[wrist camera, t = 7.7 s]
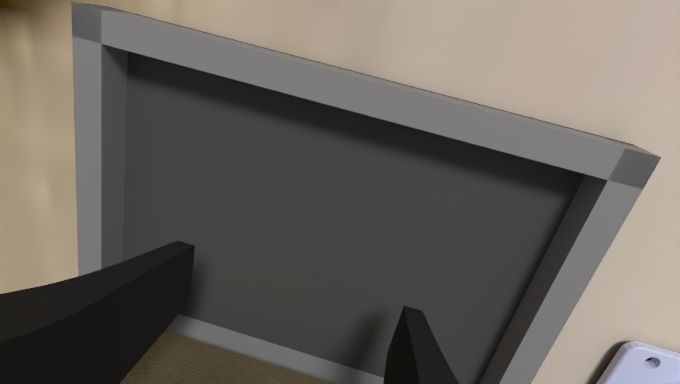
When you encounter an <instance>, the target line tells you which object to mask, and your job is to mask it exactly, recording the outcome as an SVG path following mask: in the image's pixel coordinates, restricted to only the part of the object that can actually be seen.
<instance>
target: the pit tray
mask: <svg viewBox="0 0 680 384" xmlns="http://www.w3.org/2000/svg"><path fill="white" fill-rule="evenodd" d="M72 40H73V78H74V117H75V155H76V194H77V232H78V270H79V276H82V275H85V274H88V273H91V272H94V271H97V270H100V269H103V268H106V267H109V266H112V265H115V264H118V263H121V262H123V261H126V260H128V259H131V258H134V257H136V256H139V255H141V254H144V253H147V252H149V251H152V250H154V249H157V248H159V247H162V246H164V245H167V244H170V243H173V242H176V241H181V242H185V243H188V244H191V245H195V252H194V263H193V274H192V284H191V295H190V296H189V298H188V299H187V301H186V303H185V304H184V306H183V307H182V309H181V310H180V312H179V313H178V315H177V316H176V318H175V319H174V321H173V322H172V323H171V324H170V325H169V327H168V328H167V329H166V330H165V331H168V332H171V333H174V334H177V335H180V336H184V337H187V338H190V339H193V340H196V341H200V342H203V343H206V344H209V345H212V346H215V347H219V348H222V349H225V350H228V351H231V352H234V353H238V354H241V355H244V356H247V357H250V358H253V359H257V360H260V361H263V362H266V363H269V364H273V365H276V366H279V367H282V368H285V369H288V370H292V371H295V372H298V373H301V374H304V375H307V376H311V377H314V378H317V379H320V380H323V381H326V382H330V383H333V384H383V382H384V374H385V366H386V359H387V352H388V349H389V347H390V344H391V341H392V338H393V335H394V332H395V329H396V327H397V324H398V321H399V318H400V315H401V312H402V310H403V307H404V306H408V307H411V308H415V309H418V310H422V311H423V313H424V315H425V317H426V319H427V321H428V324H429V326H430V328H431V330H432V333H433V335H434V337H435V339H436V341H437V343H438V345H439V347H440V349H441V351H442V353H443V355H444V357H445V359H446V361H447V363H448V365H449V367H450V368H451V370H452V372H453V374H454V376H455V377H456V379H457V381H458V382H459V384H531V382H532V380H533V379H534V377H535V375H536V373H537V372H538V370H539V368H540V367H541V365H542V363H543V361H544V360H545V358H546V356H547V354H548V353H549V351H550V349H551V347H552V346H553V344H554V342H555V341H556V339H557V337H558V335H559V334H560V332H561V330H562V328H563V327H564V325H565V323H566V321H567V320H568V318H569V316H570V315H571V313H572V311H573V309H574V308H575V306H576V304H577V302H578V301H579V299H580V297H581V295H582V294H583V292H584V290H585V289H586V287H587V285H588V283H589V282H590V280H591V278H592V276H593V275H594V273H595V271H596V269H597V268H598V266H599V264H600V263H601V261H602V259H603V257H604V256H605V254H606V252H607V250H608V249H609V247H610V245H611V243H612V242H613V240H614V238H615V237H616V235H617V233H618V231H619V230H620V228H621V226H622V224H623V223H624V221H625V219H626V217H627V216H628V214H629V212H630V211H631V209H632V207H633V205H634V204H635V202H636V200H637V198H638V197H639V195H640V193H641V191H642V190H643V188H644V186H645V185H646V183H647V181H648V179H649V178H650V176H651V174H652V172H653V171H654V169H655V167H656V165H657V164H658V162H659V160H660V159H661V157H659V156H657V155H655V154H653V153H650V152H648V151H646V150H644V149H642V148H639V147H637V146H635V145H633V144H629V143H625V142H621V141H617V140H614V139H610V138H606V137H602V136H598V135H595V134H591V133H587V132H583V131H579V130H575V129H572V128H568V127H564V126H560V125H556V124H553V123H549V122H545V121H541V120H537V119H534V118H530V117H526V116H522V115H518V114H514V113H511V112H507V111H503V110H499V109H495V108H492V107H488V106H484V105H480V104H476V103H473V102H469V101H465V100H461V99H457V98H454V97H450V96H446V95H442V94H438V93H434V92H431V91H427V90H423V89H419V88H415V87H412V86H408V85H404V84H400V83H396V82H393V81H389V80H385V79H381V78H377V77H374V76H370V75H366V74H362V73H358V72H354V71H351V70H347V69H343V68H339V67H335V66H332V65H328V64H324V63H320V62H316V61H313V60H309V59H305V58H301V57H297V56H294V55H290V54H286V53H282V52H278V51H274V50H271V49H267V48H263V47H259V46H255V45H252V44H248V43H244V42H240V41H236V40H233V39H229V38H225V37H221V36H217V35H213V34H210V33H206V32H202V31H198V30H194V29H191V28H187V27H183V26H179V25H175V24H172V23H168V22H164V21H160V20H156V19H153V18H149V17H145V16H141V15H137V14H133V13H130V12H126V11H122V10H118V9H114V8H111V7H107V6H100V5H91V4H83V3H74V2H72Z"/></svg>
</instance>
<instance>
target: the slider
mask: <svg viewBox="0 0 680 384" xmlns="http://www.w3.org/2000/svg"><path fill="white" fill-rule="evenodd" d="M120 384H333V383H330V382H326V381H323V380H320V379H317V378H314V377H311V376H307V375H304V374H301V373H298V372H295V371H292V370H288V369H285V368H282V367H279V366H276V365H273V364H269V363H266V362H263V361H260V360H257V359H253V358H250V357H247V356H244V355H241V354H238V353H234V352H231V351H228V350H225V349H222V348H219V347H215V346H212V345H209V344H206V343H203V342H200V341H196V340H193V339H190V338H187V337H184V336H180V335H177V334H174V333H171V332H168V331H164V332H163V334H162V335H161V336H160V337H159V338H158V339H157V341H156V342H155V343H154V344H153V345H152V346H151V347H150V349H149V350H148V351H147V352H146V353H145V354H144V356H143V357H142V358H141V359H140V360H139V361H138V362H137V364H136V365H135V366H134V367H133V368H132V369H131V371H130V372H129V373H128V374H127V375H126V377H125V378H124V379H123V380H122V382H121V383H120Z"/></svg>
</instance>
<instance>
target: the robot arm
mask: <svg viewBox="0 0 680 384" xmlns="http://www.w3.org/2000/svg"><path fill="white" fill-rule="evenodd" d="M194 252H195V245H191V244H188V243H185V242H181V241H176V242H173V243H170V244H167V245H164V246H162V247H159V248H157V249H154V250H152V251H149V252H147V253H144V254H141V255H139V256H136V257H134V258H131V259H128V260H126V261H123V262H121V263H118V264H115V265H112V266H109V267H106V268H103V269H100V270H97V271H94V272H91V273H88V274H85V275H82V276H79V277H75V278H72V279H68V280H64V281H60V282H56V283H52V284H48V285H44V286H39V287H34V288H29V289H24V290H19V291H15V292H10V293H4V294H0V384H120V383H121V382H122V380H123V379H124V378H125V377H126V375H127V374H128V373H129V372H130V371H131V369H132V368H133V367H134V366H135V365H136V364H137V362H138V361H139V360H140V359H141V358H142V357H143V356H144V354H145V353H146V352H147V351H148V350H149V349H150V347H151V346H152V345H153V344H154V343H155V342H156V341H157V339H158V338H159V337H160V336H161V335H162V334H163V332H164V331H165V330H166V329H167V328H168V327H169V325H170V324H171V323H172V322H173V321H174V319H175V318H176V316H177V315H178V313H179V312H180V310H181V309H182V307H183V306H184V304H185V303H186V301H187V299H188V298H189V296H190V295H191V284H192V274H193V263H194ZM651 357H653V358H652V359H651V360H647V361H645V360H646V359H648V358H651ZM383 384H459V382H458V381H457V379H456V377H455V376H454V374H453V372H452V370H451V368H450V367H449V365H448V363H447V361H446V359H445V357H444V355H443V353H442V351H441V349H440V347H439V345H438V343H437V341H436V339H435V337H434V335H433V333H432V330H431V328H430V326H429V324H428V321H427V319H426V317H425V315H424V313H423V311H422V310H418V309H415V308H411V307H408V306H404V307H403V310H402V312H401V315H400V318H399V321H398V324H397V327H396V329H395V332H394V335H393V338H392V341H391V344H390V347H389V349H388V352H387V359H386V366H385V374H384V382H383ZM596 384H680V353H676V352H673V351H670V350H666V349H663V348H659V347H656V346H653V345H649V344H646V343H642V342H637V341H632V342H628V343H626V344H624V345H622V346H621V347H620V349H619V350H618V352H617V353H616V355H615V356H614V358H613V359H612V361H611V362H610V364H609V365H608V367H607V368H606V370H605V371H604V373H603V374H602V376H601V377H600V379H599V380H598V382H597V383H596Z"/></svg>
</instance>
